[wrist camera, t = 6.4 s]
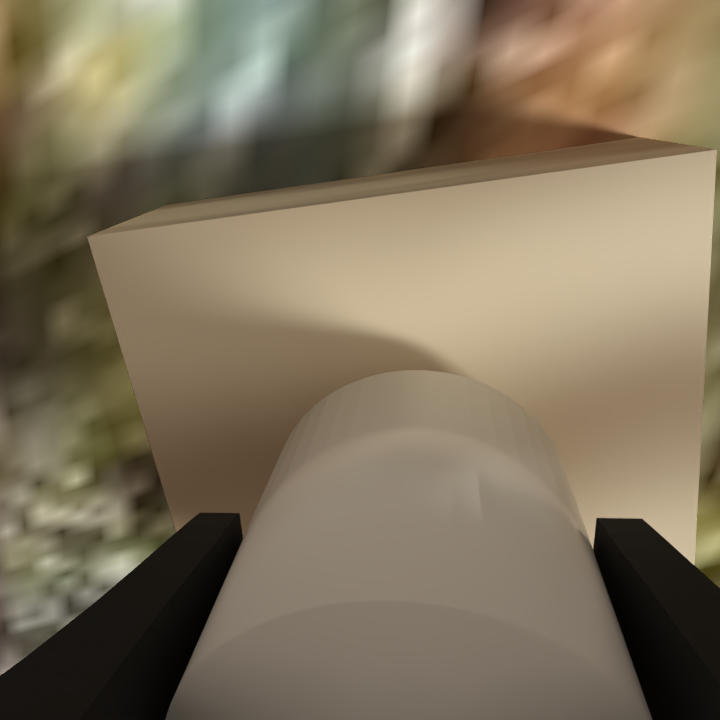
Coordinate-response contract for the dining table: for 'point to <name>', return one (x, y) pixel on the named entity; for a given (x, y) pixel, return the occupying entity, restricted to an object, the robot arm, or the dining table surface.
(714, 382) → the dining table surface
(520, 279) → the block
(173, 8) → the dining table surface
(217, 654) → the beige round cylinder
